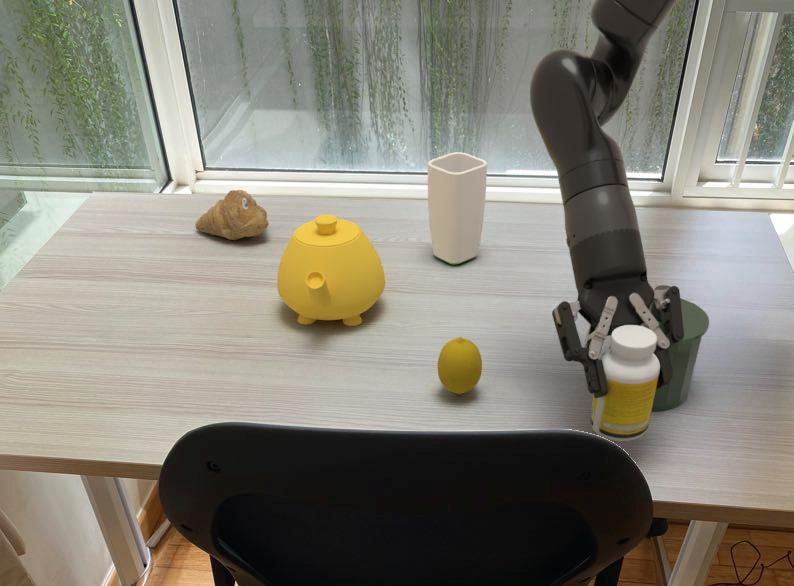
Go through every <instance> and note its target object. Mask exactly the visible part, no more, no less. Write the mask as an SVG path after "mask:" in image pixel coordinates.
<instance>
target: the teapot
mask: <svg viewBox="0 0 794 586" xmlns="http://www.w3.org/2000/svg"><path fill="white" fill-rule="evenodd" d="M276 278H277V280H276V287H277V293H278V296H279V297H280V299H281V300H282V302H283V303H284V304H285V305H286V306H287V307H288V308H290V309H291V310H292V311H294V312H295V313H296V314H298V318H297V320H296V321H297V323H298V324H300V325H311V324H314V323H316V321H317V320H320V321H336V320H342V323H343V325H345V326H348V327H354V326H355V327H356V326H359V325H360V324H362V322H363V320H362V317H361V314H362V313H364V312H366V311H368V310H369V309H370V308H371V307H372V306H373V305H374V304H375V303H376V302H377V301H378V300H379V299H380V297H382V294H383V293H384V290H385V287H386V275H385V271H384V266H383V262H382V260H381V258H380V256H379V254H378V251H377V249H376V248H375V246H374V245H373V243H372V242H371V240H370V239H369V237H368V236H367V235H366V234H365V232H364V231H363V230H362V228H361V227H360V226H359V225H357V224H356V223H354V222H352V221H350V220H347V219H342V218H338V216H336V215H334V214H326V213H325V214H320V215H318V216H316V217H315V218H314V220H311V221H308V222H305V223H303V224H301V225H299V226H298V228H296V229H295V231H294V232H293V233H292V234H291V237H290V238H289V240H288V242H287V244H286V246H285V249H284V251H283V253H282V255H281V258H280V261H279V263H278V269H277V277H276Z"/></svg>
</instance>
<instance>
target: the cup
mask: <svg viewBox="0 0 794 586" xmlns="http://www.w3.org/2000/svg"><path fill="white" fill-rule="evenodd" d="M487 170H488V162H487V161H486V160H484V159H483V158H480V157H478V156H474V155H472V154H470V153H466V152H461V151H455V152H454V151H453V152H450V153H447V154H444V155H442V156H438V157H436V158H433V159H431V160H429V161H428V162H427V205H428V220H429V221H428V223H429V231H430V240H431V246H432V253H433V255H434V256H435V257H436V258H437V259H438V260H442V261H443V262H445V263H447V264H449V265H455V266H457V265H461V264H462V263H465V262H467V261H470V260H472V259H474V258H475V257H477V256H478V254H479V251H480V249H479V248H480V244H481V240H482V232H483V226H484V217H485V207H486V206H485V205H486V193H487V177H488V176H487V175H488V174H487V173H488V171H487Z"/></svg>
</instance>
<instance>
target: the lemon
mask: <svg viewBox="0 0 794 586" xmlns="http://www.w3.org/2000/svg"><path fill="white" fill-rule="evenodd" d="M482 360H483V359H482V355H481V352H480V350H479V348H478V346H477V345H476V344H475V343H474V342H473V341H472V340H470V339H468V338H464V337H463V336H460V337H457V338H452V339H451V340H449V341H447V342H446V343H445V344H444V345H443V346H442V348H441V350H440V352H439V355H438V359H437V375H438V379H439V381H440V383H441V384H442V386H443V387H444V388H445V389H446V390H447V391H449V392H451V393H454V394H457V395H462V394H464V393H468V392H470V391H472V390H473V389H474V388H475V387H476V386H477V385H478V383H479V381H480V379H481V376H482V372H483V361H482Z"/></svg>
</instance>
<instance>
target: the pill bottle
mask: <svg viewBox="0 0 794 586" xmlns="http://www.w3.org/2000/svg"><path fill="white" fill-rule="evenodd" d="M656 343H657V336H656V334H655V333H654V332H653V331H652V330H650V329H648V328H646V327H642V326H637V325H625V326H620V327H618V328H616V329H614V331H613V332H612V335H610V340H609V346H610V348H609V347H608V349H606V350H605V351H604V352H603V353H602V354H600V356H599V358H598V359H599V360H602V362H603V368H604V373H605V378H606V384H607V389H608V393H607V395H605V396H603V397H600V398H595V397H594V394H593V396H592V403H591V409H590V414H589V415H590V416H589V423H590V427H591V428H592V430H593V431H594V432H595V433H596V434H597V435H599V436H601V437H602V438H604V439H607V440H610V441H615V442H629V441H634V440H637V439H639V438H641V437H642V436H643V435H645V433H646V432H647V430H648V429H649V424H650V420H651V414H652V411H651V410H652V406H653V401H654V396H655V391H656V386H657V382H658V377H659V372H660V363H659V360H658V358H657V357H656V355H655V354H654V351H655V349H656Z"/></svg>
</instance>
